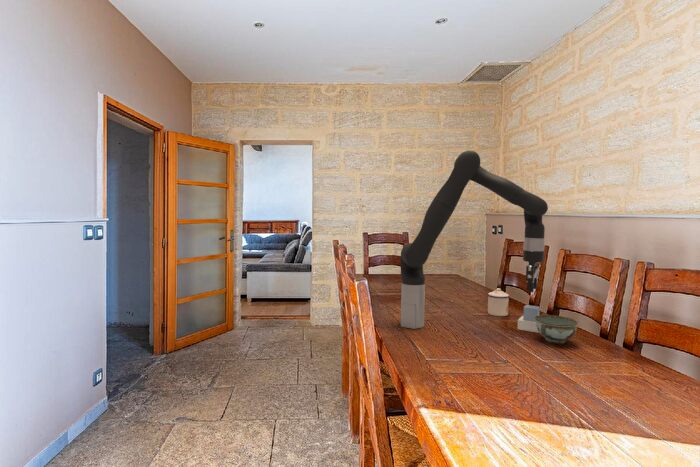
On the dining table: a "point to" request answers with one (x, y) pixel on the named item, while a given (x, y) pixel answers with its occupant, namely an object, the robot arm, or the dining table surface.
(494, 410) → the dining table surface
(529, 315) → the cube
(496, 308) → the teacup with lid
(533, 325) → the slab
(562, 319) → the bowl
